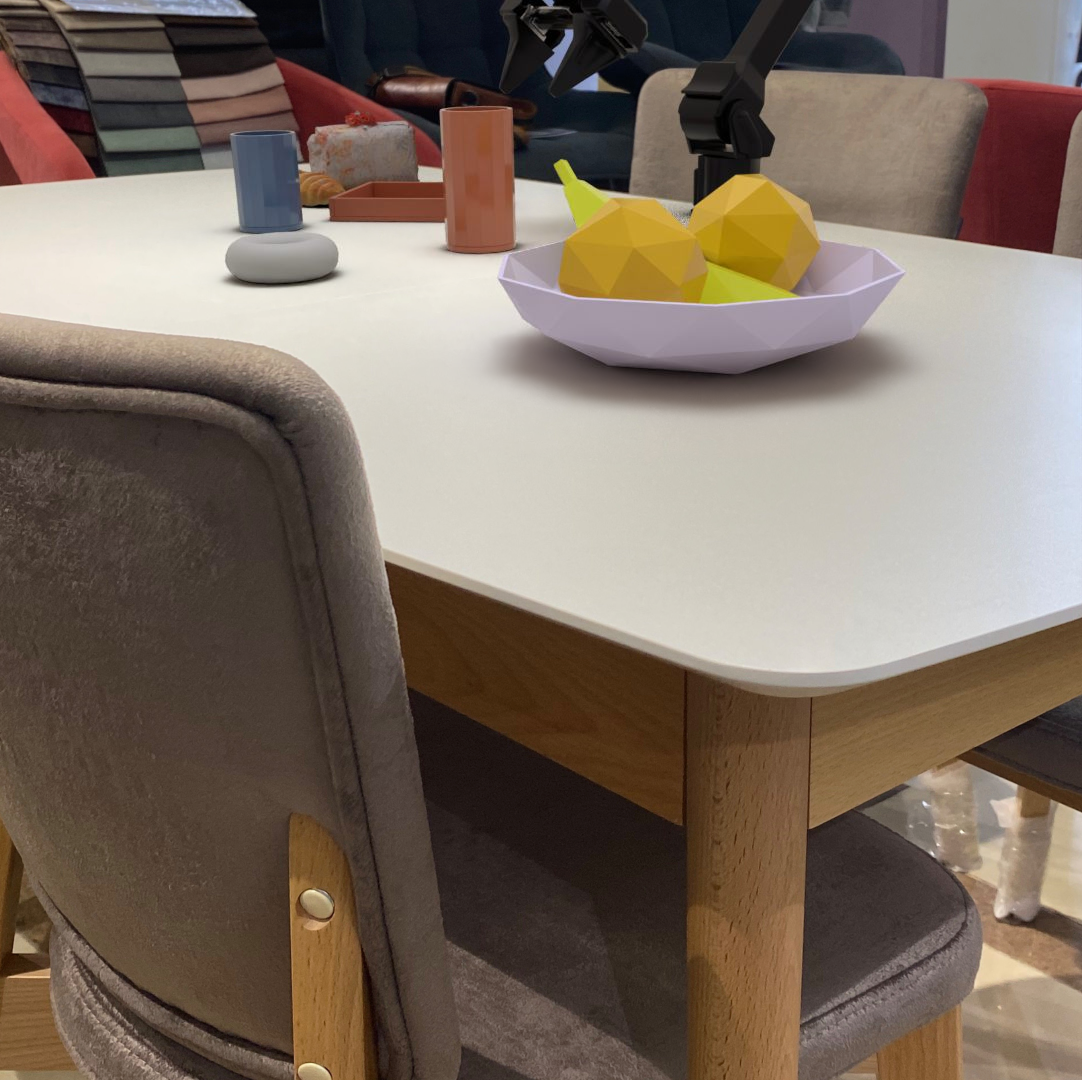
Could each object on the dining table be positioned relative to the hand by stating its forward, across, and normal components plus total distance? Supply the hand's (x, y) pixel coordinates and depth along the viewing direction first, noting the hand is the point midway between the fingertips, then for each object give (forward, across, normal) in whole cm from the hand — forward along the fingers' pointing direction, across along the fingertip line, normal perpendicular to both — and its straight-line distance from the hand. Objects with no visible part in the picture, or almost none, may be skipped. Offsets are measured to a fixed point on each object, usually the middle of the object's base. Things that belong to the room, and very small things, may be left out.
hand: (526, 93), depth 128 cm
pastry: (+15, -39, +4) cm, 42 cm away
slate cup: (+23, -23, -6) cm, 33 cm away
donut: (+29, +4, -13) cm, 32 cm away
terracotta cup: (+15, +2, +4) cm, 16 cm away
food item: (+9, -47, +12) cm, 49 cm away
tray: (+11, -24, +9) cm, 27 cm away
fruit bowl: (+21, +46, -3) cm, 51 cm away
